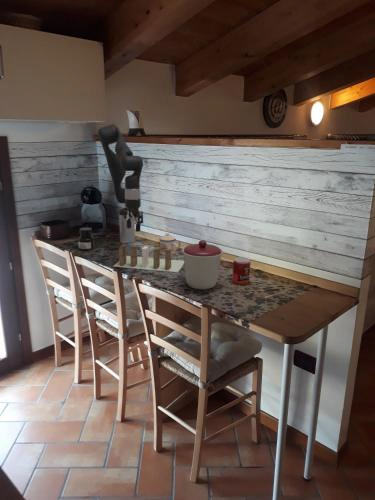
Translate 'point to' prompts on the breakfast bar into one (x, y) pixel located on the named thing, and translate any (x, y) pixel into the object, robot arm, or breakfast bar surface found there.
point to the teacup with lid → (167, 244)
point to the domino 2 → (133, 255)
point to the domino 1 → (122, 255)
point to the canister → (202, 264)
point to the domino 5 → (167, 258)
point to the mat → (175, 264)
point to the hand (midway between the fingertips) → (133, 229)
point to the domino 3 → (145, 257)
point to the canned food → (241, 270)
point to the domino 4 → (156, 257)
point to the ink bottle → (86, 239)
